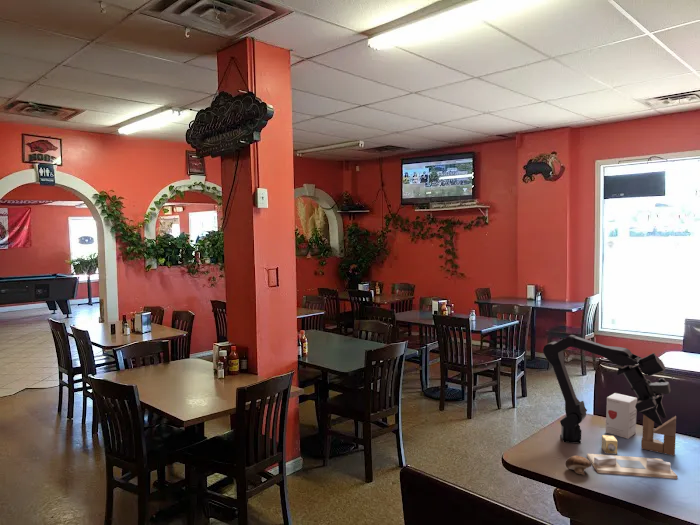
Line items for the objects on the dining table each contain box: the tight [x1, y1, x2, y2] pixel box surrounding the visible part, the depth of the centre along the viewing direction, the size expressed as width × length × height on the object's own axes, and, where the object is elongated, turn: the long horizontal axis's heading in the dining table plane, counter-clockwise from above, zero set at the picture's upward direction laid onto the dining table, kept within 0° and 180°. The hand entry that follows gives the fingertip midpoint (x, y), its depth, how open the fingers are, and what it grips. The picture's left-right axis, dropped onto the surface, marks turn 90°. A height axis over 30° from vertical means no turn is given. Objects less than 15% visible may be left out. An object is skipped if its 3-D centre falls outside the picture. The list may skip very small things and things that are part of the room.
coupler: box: [601, 434, 618, 455], centre depth 194 cm, size 7×4×5 cm, turn 170°
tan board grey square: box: [586, 453, 678, 480], centre depth 181 cm, size 25×13×3 cm, turn 80°
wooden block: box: [640, 414, 677, 457], centre depth 193 cm, size 4×11×18 cm, turn 55°
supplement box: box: [605, 392, 638, 440], centre depth 210 cm, size 9×9×15 cm
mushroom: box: [565, 455, 592, 476], centre depth 177 cm, size 8×8×6 cm
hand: (663, 421), depth 183 cm, fingers open, 9 cm apart
